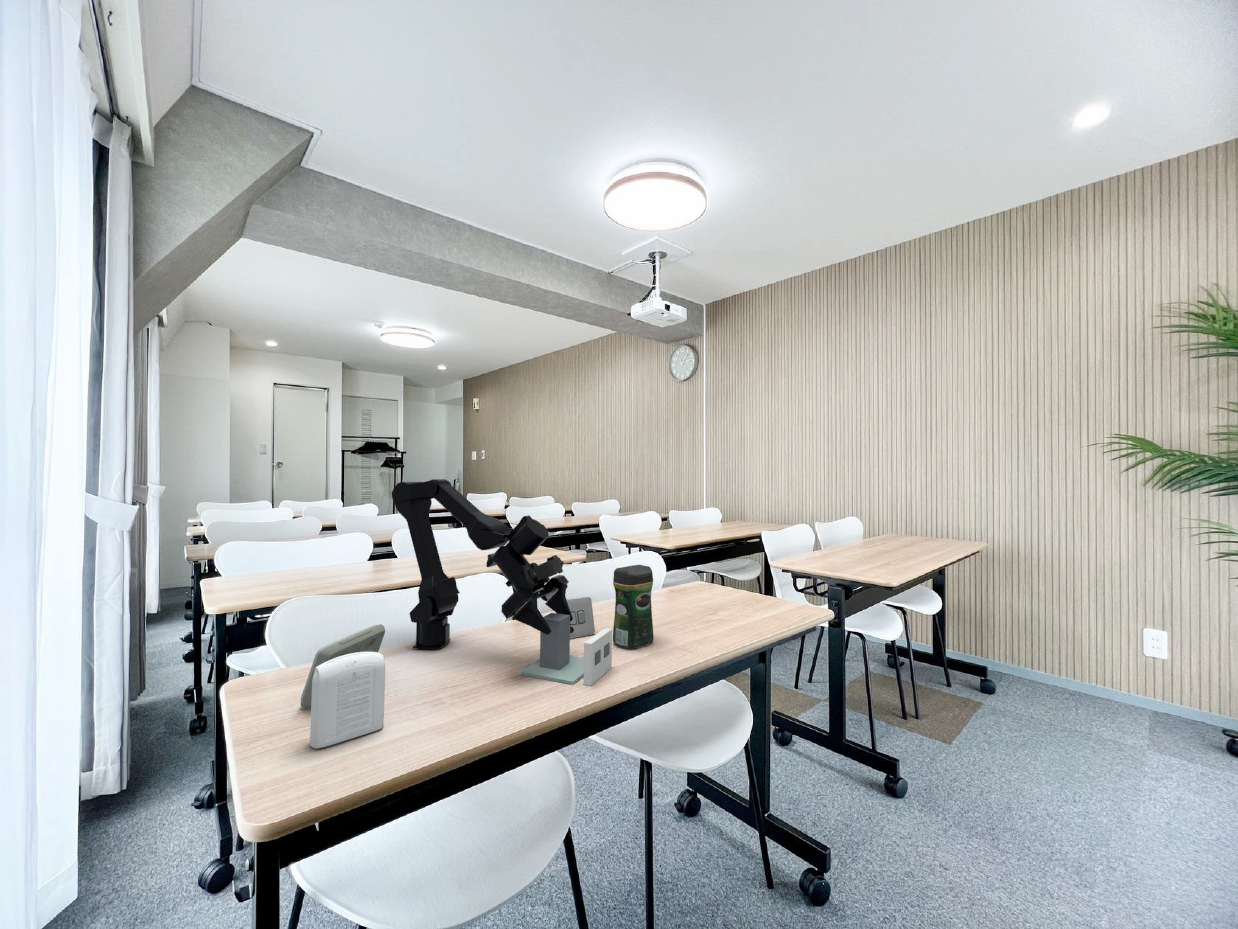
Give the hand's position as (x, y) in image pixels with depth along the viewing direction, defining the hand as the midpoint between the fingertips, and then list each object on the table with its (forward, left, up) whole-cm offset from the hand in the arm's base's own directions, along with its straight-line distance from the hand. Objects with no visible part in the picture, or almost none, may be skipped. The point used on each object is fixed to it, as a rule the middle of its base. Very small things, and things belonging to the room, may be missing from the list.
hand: (561, 626), depth 104 cm
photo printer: (-28, -28, -9) cm, 41 cm away
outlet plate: (+8, -3, -9) cm, 12 cm away
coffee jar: (+15, +17, -9) cm, 24 cm away
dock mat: (0, 0, -9) cm, 9 cm away
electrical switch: (0, +22, -9) cm, 24 cm away
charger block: (-1, 0, -8) cm, 8 cm away
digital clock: (-38, -14, -9) cm, 41 cm away
